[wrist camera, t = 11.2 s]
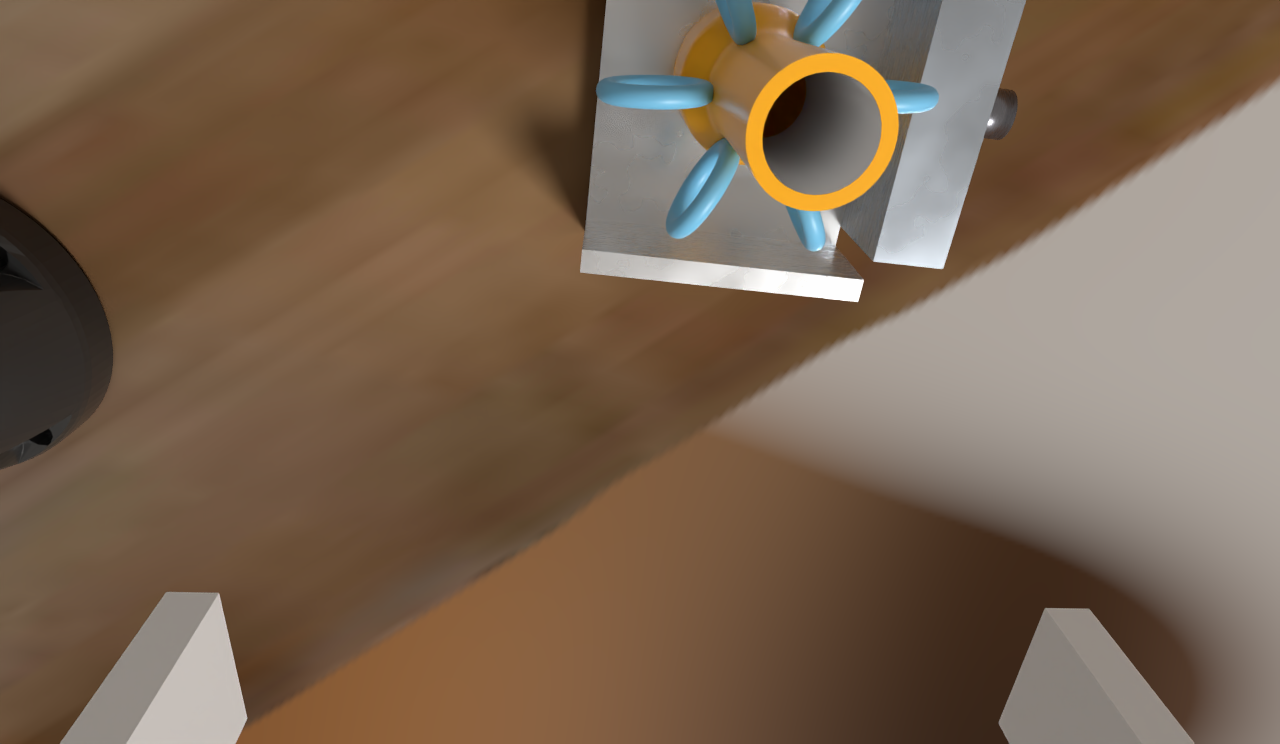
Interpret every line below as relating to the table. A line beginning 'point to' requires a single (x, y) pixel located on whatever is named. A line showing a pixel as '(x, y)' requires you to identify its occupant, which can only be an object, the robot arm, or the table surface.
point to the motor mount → (746, 215)
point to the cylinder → (776, 111)
